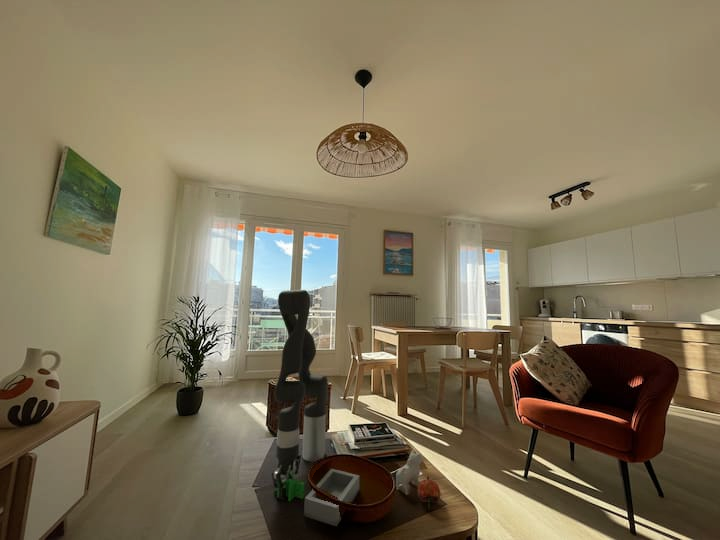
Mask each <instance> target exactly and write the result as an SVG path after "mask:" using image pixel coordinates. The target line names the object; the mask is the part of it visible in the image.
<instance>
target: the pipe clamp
mask: <svg viewBox="0 0 720 540" xmlns="http://www.w3.org/2000/svg"><path fill="white" fill-rule="evenodd" d="M282 483H283V480H282ZM274 491H276V498H279V489H277V488H274ZM286 497H288V498H287V501H288V502H291V501H293V499H294V498H298V499H302V500H303V499H304V497H305V482H303V481H301V480H295V479H294V480H293V479H290V478H288V480H287V482H286Z"/></svg>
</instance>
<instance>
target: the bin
mask: <svg viewBox="0 0 720 540" xmlns="http://www.w3.org/2000/svg"><path fill="white" fill-rule="evenodd" d="M315 486H317V487H318V488H320V489H322V490H324V491H327V492H328V493H329V494H331V495H333V496H335V497H337V498H338V500H340V501H345V502H352V503H353V501H354V499H355V498H356V497H357V495H358V494H357V493H359V492H360V475H359V474H354V473H350V472H347V471H343V470H338V469H334V468H330V469H329V471H328V472H326V474H325V475H324V476H323V477H322V478H321V479H320V480H319V482H318V483H316V485H315ZM358 491H359V492H358ZM304 497H305V498H304V502H303V503H304V505H303V507H304V510H303V516H304V517H305V518H309V519H312V520H316V521H318V522H322V523H324V524H328V525H330V526H334V527H338V525H339V523H340V522H341V520H342V519H341V517H340V512H339V505H336V504H333V503H331V502H328V501H324V500H321V499H318V498H316V492H315V491H314V490H313V489H311V490H310V491H309V493H308V494H307V495H306V496H304Z"/></svg>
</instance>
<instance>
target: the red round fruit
mask: <svg viewBox="0 0 720 540" xmlns="http://www.w3.org/2000/svg"><path fill="white" fill-rule="evenodd" d="M441 494H442V493H441V489H440V487H439V485H438V483H437V482H436V481H434V480H433V479H430V477H429V475H427V476H426V479H423V480H422V481H420V482H419V485H418V487H417V495H418V497H419V499H420V501H421V502H422V503H428V508H430V506H431V505H430V503H431V504H437V503H438V501H439V500H440V499H441Z"/></svg>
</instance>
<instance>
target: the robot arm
mask: <svg viewBox="0 0 720 540" xmlns="http://www.w3.org/2000/svg"><path fill="white" fill-rule="evenodd" d="M277 298H278V299H277V304H278V309H279V311H280V312H279V313H280V315H281V318H282V321H283V323H284V325H285V328H286V331H287V335H288V338H287V339H286V341H285V342H284V345H283V347H282V352H281V353H282V354H281V367H280V372H279V376H278V379H277V381H276V385H275V388H274V390H273V398H274V400H275V401H276V402H277V403H280V404H287V403H289V404H292V403H293V405H291V406H289V407H285V408H282V409H281V410H279V411H278V412H279V413H278V418H277V419H278V421H277V423H278V424H277V434H276V449H275V451H276V453H275V456H276V458H277V461H278V464H277V469H276V470H275V471H272V473H271V478H272V483H273V488H274V489H275V488H277V489H279V500H282V501H284V500H285V499H286V497H287V496H286V482H287V480H288V478H290V479H293V480H295V478H296V475H298V473H299V471H300V470H299V469H300V463H301V458H302V459H303V460H304V461H307V462H318V461H317V460H319V459H321V458H322V459H324V457H325V453H326V452H325V451H326V412H327V411H326V410H327V403H328V402H327V401H328V389H329V388H328V387H329V386H328V385H329V382H328V377H327V376H326V375H321V374H312V373H311V370H310V366H311V364H312V363H313V361H314V359H315V357H316V353H317V347H316V343H315V339H314V337H313V336H314V335H312V333H311V332H310V331H309V330H308V328H307V326H308V320H309V314H310V309H311V297H310V294H309V292H308V290H306V289H291V290H282V291H281V292H280V293H278V296H277ZM295 374H298V379H299V380H287V378H288V377H289V376H291V375H295ZM305 397H307V398H314V399H315V398H316V401H314V402H313V403H309V404H307V405H305V406H304V409H303V431H302V432H303V435H302V455H301V454H300V453H299V452H300V413H301V408H302V404H303V402H304V398H305ZM322 459H321V460H322ZM319 461H320V460H319ZM282 480H283V483H282Z"/></svg>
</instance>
